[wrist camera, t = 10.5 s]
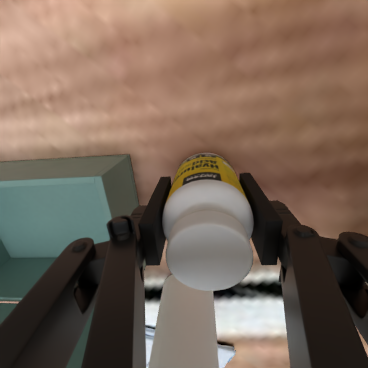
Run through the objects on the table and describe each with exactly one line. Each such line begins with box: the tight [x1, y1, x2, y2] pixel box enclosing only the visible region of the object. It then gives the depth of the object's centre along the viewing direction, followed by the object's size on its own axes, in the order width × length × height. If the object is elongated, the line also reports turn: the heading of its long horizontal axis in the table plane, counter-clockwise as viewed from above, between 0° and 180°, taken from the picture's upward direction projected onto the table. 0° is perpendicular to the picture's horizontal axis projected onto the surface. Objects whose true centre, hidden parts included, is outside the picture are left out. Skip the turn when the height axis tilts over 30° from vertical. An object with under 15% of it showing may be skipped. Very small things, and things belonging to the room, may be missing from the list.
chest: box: [0, 154, 146, 301], centre depth 22 cm, size 14×20×7 cm
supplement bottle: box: [162, 153, 254, 291], centre depth 13 cm, size 5×5×10 cm
